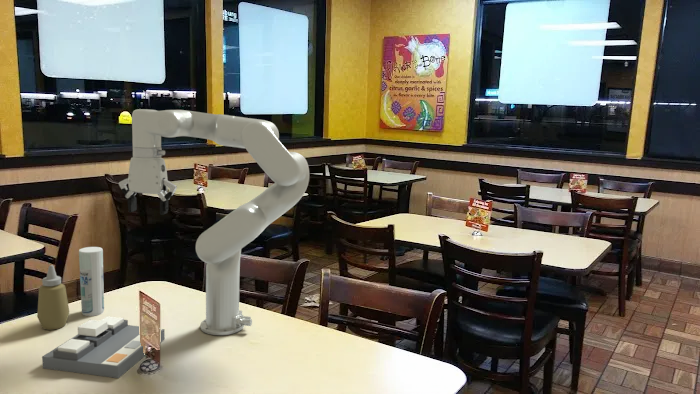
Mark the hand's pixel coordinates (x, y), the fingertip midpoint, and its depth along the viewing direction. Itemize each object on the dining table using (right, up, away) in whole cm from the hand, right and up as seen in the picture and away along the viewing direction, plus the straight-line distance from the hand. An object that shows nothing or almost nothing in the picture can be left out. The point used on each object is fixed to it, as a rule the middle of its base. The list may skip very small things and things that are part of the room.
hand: (148, 212), depth 154 cm
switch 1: (-10, -34, -22) cm, 42 cm away
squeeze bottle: (-27, -33, -1) cm, 42 cm away
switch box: (-5, -36, -15) cm, 39 cm away
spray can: (-21, -31, +11) cm, 39 cm away
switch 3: (-8, -31, -8) cm, 33 cm away
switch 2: (-9, -30, -15) cm, 35 cm away
